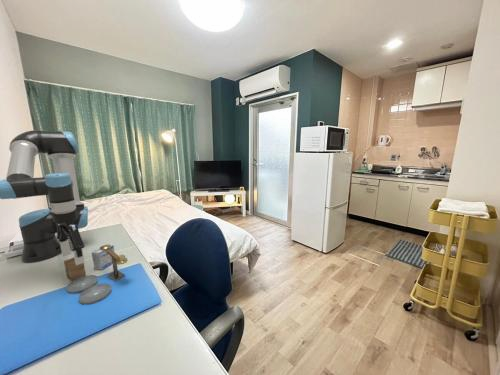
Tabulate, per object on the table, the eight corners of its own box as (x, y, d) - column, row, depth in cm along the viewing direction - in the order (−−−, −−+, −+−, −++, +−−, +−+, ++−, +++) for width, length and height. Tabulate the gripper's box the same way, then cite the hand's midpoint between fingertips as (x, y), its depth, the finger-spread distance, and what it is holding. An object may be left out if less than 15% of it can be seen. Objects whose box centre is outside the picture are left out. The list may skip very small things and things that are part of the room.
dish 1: (62, 287, 83) (61, 284, 83) (91, 274, 92) (90, 271, 91) (73, 296, 78) (72, 293, 78) (102, 282, 86) (102, 279, 86)
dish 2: (74, 297, 78) (73, 294, 77) (103, 283, 86) (103, 280, 86) (86, 308, 73) (85, 305, 72) (116, 291, 81) (116, 288, 81)
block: (66, 277, 89) (63, 261, 88) (80, 271, 94) (78, 255, 92) (71, 281, 87) (68, 264, 85) (85, 275, 91) (83, 258, 89)
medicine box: (102, 270, 95) (99, 253, 93) (93, 269, 96) (91, 252, 94) (116, 261, 102) (113, 245, 101) (108, 260, 103) (106, 244, 101)
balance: (102, 273, 93) (98, 247, 90) (111, 268, 96) (108, 243, 94) (122, 285, 84) (118, 258, 82) (131, 280, 88) (128, 253, 85)
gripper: (41, 209, 88) (50, 255, 91) (65, 219, 75) (74, 272, 79) (63, 205, 94) (71, 248, 98) (89, 213, 81) (97, 263, 85)
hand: (73, 259), depth 88 cm, fingers open, 13 cm apart
